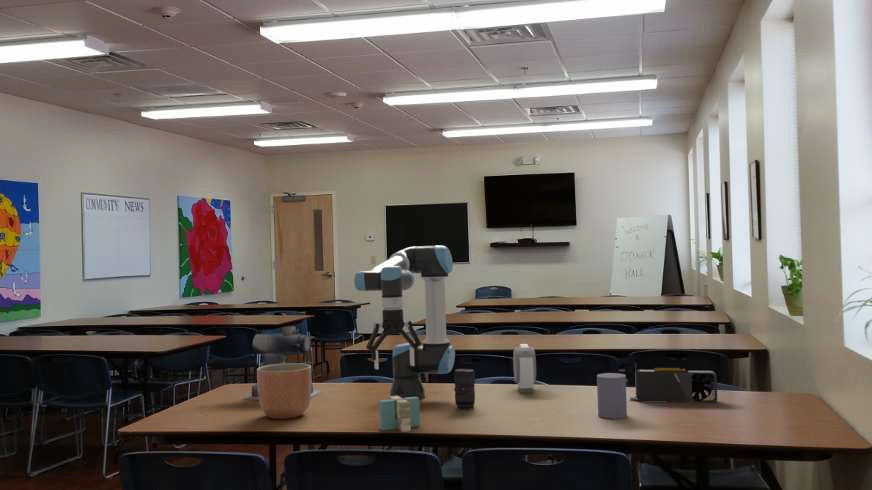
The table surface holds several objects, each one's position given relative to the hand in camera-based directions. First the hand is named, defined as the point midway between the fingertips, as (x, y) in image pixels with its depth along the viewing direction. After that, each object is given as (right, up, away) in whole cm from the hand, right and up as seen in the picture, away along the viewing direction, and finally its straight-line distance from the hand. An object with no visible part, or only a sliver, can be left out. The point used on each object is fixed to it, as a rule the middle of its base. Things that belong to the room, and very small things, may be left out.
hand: (394, 367), depth 272 cm
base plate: (+2, -21, -5) cm, 21 cm away
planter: (-44, -22, +20) cm, 53 cm away
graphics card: (+109, -18, +26) cm, 114 cm away
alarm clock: (+54, -20, +57) cm, 81 cm away
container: (+80, -19, +3) cm, 82 cm away
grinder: (-53, -23, +61) cm, 85 cm away
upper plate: (+2, -21, -5) cm, 21 cm away
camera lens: (+27, -20, +25) cm, 42 cm away
